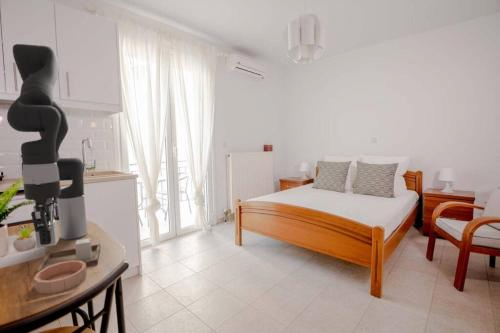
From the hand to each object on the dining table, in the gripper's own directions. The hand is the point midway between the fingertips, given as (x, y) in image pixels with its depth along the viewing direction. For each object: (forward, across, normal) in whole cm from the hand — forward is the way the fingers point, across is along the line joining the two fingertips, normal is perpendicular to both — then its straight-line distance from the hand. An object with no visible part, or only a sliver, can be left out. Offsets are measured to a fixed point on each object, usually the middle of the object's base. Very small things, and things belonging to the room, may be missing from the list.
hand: (48, 240), depth 69 cm
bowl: (+13, 0, +2) cm, 13 cm away
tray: (+13, -13, +3) cm, 19 cm away
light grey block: (+1, 0, 0) cm, 1 cm away
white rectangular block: (+12, -13, +6) cm, 19 cm away
